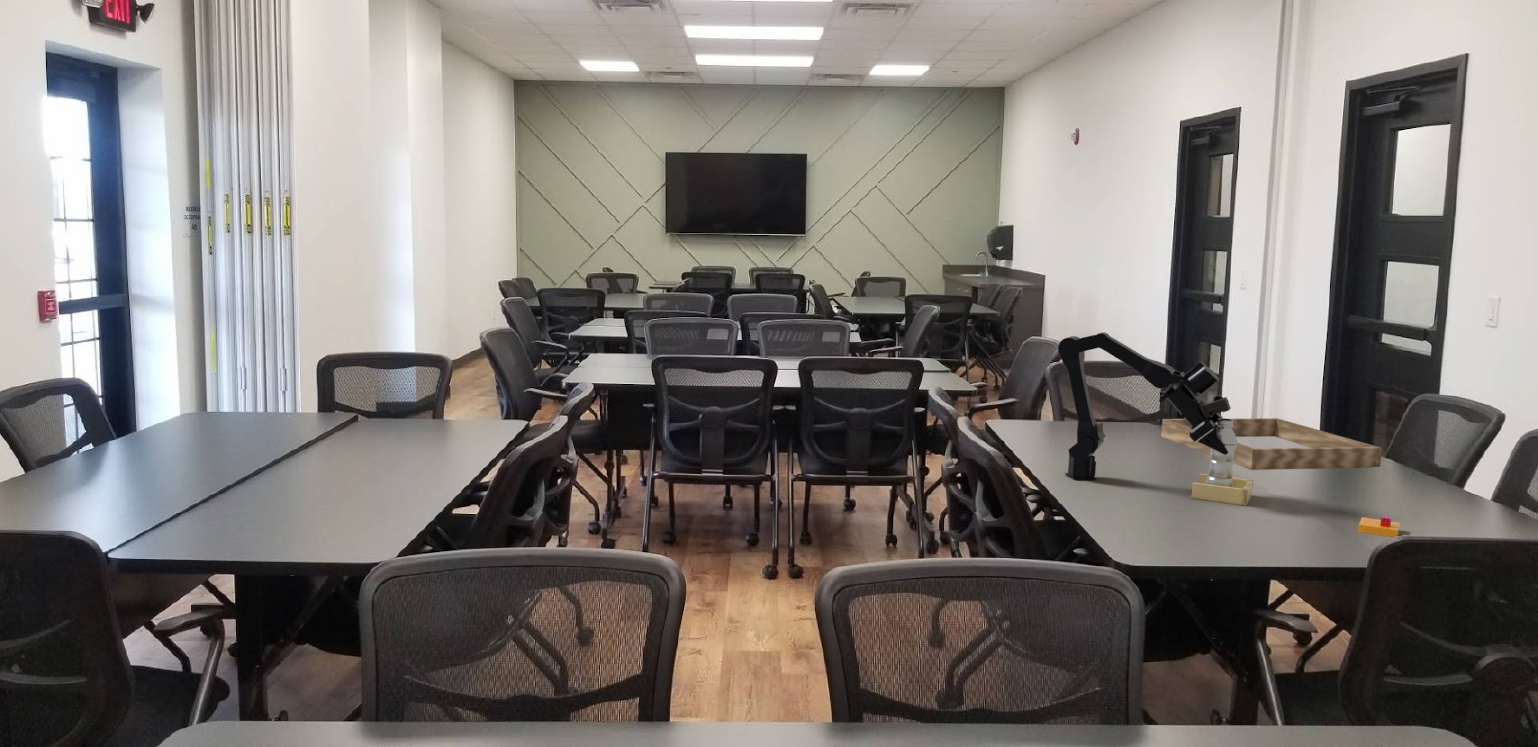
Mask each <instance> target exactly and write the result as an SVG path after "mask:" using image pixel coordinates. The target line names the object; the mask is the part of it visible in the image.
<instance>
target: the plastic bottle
mask: <svg viewBox="0 0 1538 747" xmlns="http://www.w3.org/2000/svg"><path fill="white" fill-rule="evenodd" d="M1232 419H1233V418H1224V417H1223V418H1219V419H1218V424H1217V426H1218V432H1217V434H1218V436H1219V438H1220V439H1221V441H1222V442H1223V444H1224V446H1225V447H1226V449H1227V451H1228V453H1227V454H1226V455H1224V454H1222V453H1220V452H1218V451H1216V450H1214V449H1212V448H1210V451H1211V454H1210V456H1209V457H1210V460H1209V462H1210V463H1209V468H1208V473H1207V474H1208V476H1207V479H1206V484H1210V485H1217V486H1225V487H1233V479H1232V478H1233V464H1234V463H1233V458H1234V452H1235V448H1236V444H1237V443H1238V439H1237V438H1238V437H1236V436H1235V434H1234V432H1233V431H1232V428H1233V420H1232Z"/></svg>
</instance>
